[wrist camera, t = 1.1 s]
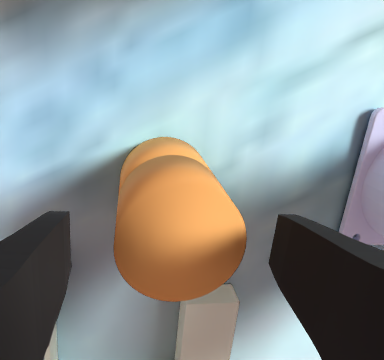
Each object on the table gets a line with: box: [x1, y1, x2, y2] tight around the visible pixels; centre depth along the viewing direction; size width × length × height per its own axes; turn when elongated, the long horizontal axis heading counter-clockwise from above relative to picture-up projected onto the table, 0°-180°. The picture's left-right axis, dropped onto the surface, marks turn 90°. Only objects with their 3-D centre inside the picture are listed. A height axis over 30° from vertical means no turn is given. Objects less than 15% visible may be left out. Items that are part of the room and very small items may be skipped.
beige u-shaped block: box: [44, 284, 240, 360], centre depth 19 cm, size 12×9×2 cm
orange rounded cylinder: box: [114, 137, 247, 302], centre depth 14 cm, size 4×4×6 cm
